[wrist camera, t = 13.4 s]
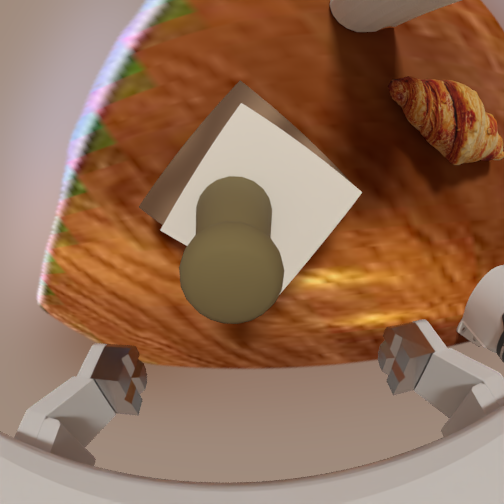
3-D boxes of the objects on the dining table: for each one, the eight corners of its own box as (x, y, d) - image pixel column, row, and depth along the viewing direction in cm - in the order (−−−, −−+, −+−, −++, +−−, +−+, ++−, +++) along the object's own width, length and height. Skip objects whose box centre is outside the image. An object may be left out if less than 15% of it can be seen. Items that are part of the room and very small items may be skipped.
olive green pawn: (216, 258, 24) (205, 354, 15) (182, 196, 22) (139, 264, 12) (283, 230, 24) (314, 316, 14) (253, 163, 21) (267, 206, 11)
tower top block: (346, 181, 26) (362, 192, 22) (272, 275, 30) (277, 297, 26) (240, 105, 23) (241, 102, 19) (170, 214, 27) (160, 230, 23)
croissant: (480, 132, 30) (515, 113, 22) (491, 193, 29) (533, 178, 21) (369, 73, 27) (403, 33, 19) (376, 142, 26) (423, 104, 18)
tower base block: (341, 179, 31) (358, 189, 26) (253, 269, 35) (255, 292, 31) (239, 87, 26) (240, 80, 22) (152, 193, 31) (138, 207, 26)
